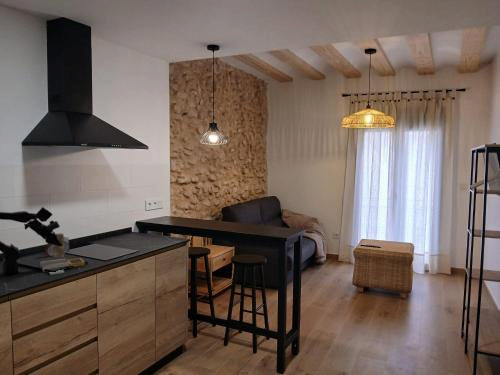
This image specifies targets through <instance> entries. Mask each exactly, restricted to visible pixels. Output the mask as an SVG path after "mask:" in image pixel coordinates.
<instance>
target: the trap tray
mask: <svg viewBox="0 0 500 375" xmlns="http://www.w3.org/2000/svg"><path fill="white" fill-rule="evenodd" d="M74 261H80V262H78V263H71V262H74ZM66 262H69V265H70V266H73V267H72V268H75V267H76V268H77V267H82V266H86V265H85V264H86V263H85V261H84V260H83V259H82V258H81V257H78V258H70V259H66Z"/></svg>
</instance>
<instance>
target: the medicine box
mask: <svg viewBox="0 0 500 375" xmlns="http://www.w3.org/2000/svg"><path fill="white" fill-rule="evenodd" d="M64 241H65V242H67V243H68V244H69V243H70V242H69V237H68V236H67V237H66V236H64ZM69 245H70V244H69Z"/></svg>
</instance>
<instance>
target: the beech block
mask: <svg viewBox="0 0 500 375" xmlns="http://www.w3.org/2000/svg"><path fill="white" fill-rule="evenodd" d="M55 234H56V235H57V239H58V240H59V242H60V243H61V244H62V246H57V245H53V256H52V257H53V258H54V259H56V258H59V259H60V258H64V257H65V254H64V237H65V236H64V233H62V232H60V233H55Z"/></svg>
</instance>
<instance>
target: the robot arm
mask: <svg viewBox="0 0 500 375" xmlns="http://www.w3.org/2000/svg"><path fill="white" fill-rule="evenodd" d="M53 215H54V214H53V213H52V212H50V210H49V209H46V208H45V207H43V206H42V207H41V208H40V209H39V210H38V211H37V212H36V213H34V212H28V211H26V210H25V211H22V210H21V211H14V212H13V211H12V212H6V211H0V220H5V221H13V222H18V223H23V225H24V230H27V229H28V228H29V229H30V230H32V231H33V232H35V234H37V235H39V236H40V237H41V238H42V239H43V240H44V241H45V243H46V244H47V245H48V244H53V245H57V246H62V244H61V243H60V242H59V240H58V239H57V235H56V234H57V233H56V232H55V231H54V230H57V229H59V228H60V224H59V222H58V220H57V221H54V220H50V221H49V224H47V225H46V224H43V223H45V222H47V221H48V220H49V219H50V218H51V217H52V216H53ZM0 252H1V253H2V254H3V255H4V257H3V258H2V259H3V263H2V273H0V275H3V276H5V277H6V276H7V277H10V276H14V275H17V274H20V271H19V264H18V260H19V259H20V258H21V252H20V250H19V247H17V246H15V245H14V244H12V243H10V245H9V244H5V243H4V242H2V241H1V240H0Z"/></svg>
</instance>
